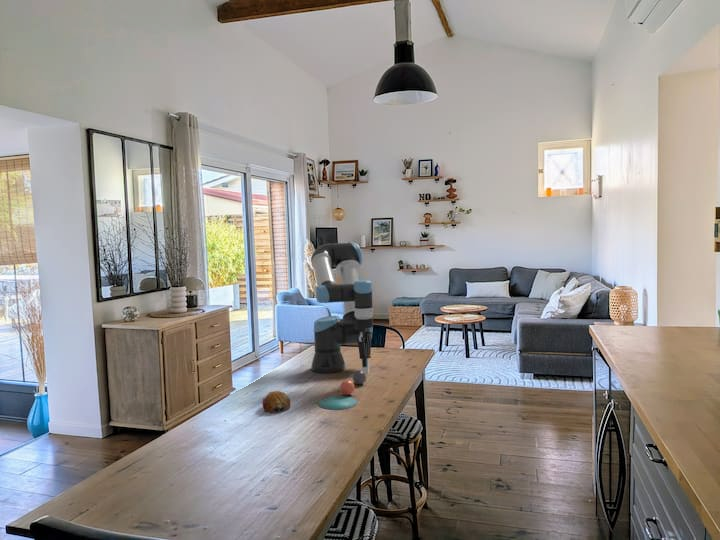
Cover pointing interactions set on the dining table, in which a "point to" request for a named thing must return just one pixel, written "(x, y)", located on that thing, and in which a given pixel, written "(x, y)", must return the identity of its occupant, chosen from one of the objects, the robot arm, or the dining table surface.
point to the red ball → (347, 387)
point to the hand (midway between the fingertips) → (365, 373)
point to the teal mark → (337, 402)
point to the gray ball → (359, 377)
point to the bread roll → (276, 402)
